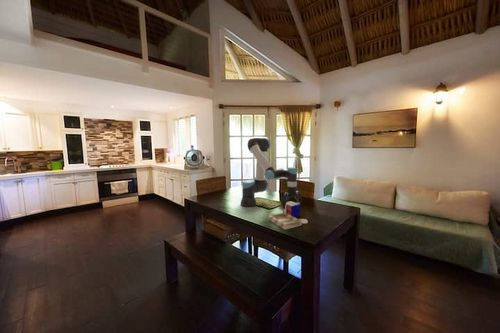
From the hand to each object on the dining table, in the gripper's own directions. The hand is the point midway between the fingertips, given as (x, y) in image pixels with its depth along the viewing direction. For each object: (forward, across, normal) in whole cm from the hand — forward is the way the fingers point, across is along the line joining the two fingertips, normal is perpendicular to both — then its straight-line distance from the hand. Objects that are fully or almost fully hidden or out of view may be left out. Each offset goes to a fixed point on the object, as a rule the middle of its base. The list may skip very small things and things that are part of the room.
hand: (291, 211), depth 173 cm
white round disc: (+4, -1, -15) cm, 15 cm away
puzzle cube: (+4, 0, 0) cm, 4 cm away
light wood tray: (+4, -14, -10) cm, 17 cm away
